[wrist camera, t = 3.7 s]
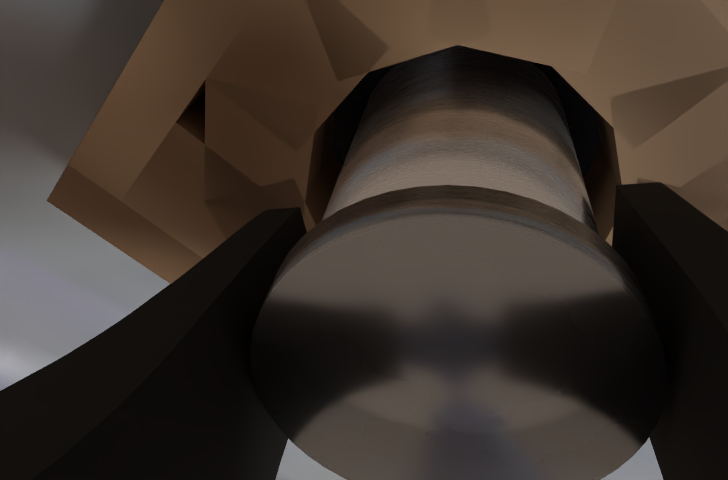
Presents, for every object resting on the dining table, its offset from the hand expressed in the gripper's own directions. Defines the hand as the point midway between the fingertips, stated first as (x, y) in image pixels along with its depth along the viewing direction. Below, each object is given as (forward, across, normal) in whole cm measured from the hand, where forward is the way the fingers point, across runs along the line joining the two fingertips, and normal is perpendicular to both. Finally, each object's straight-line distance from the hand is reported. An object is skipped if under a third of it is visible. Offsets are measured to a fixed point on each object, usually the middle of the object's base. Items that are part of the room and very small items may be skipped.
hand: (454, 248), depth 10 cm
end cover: (+4, 0, 0) cm, 4 cm away
